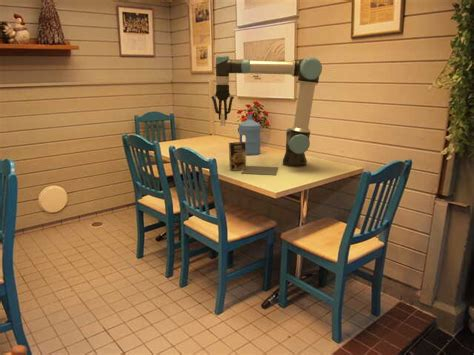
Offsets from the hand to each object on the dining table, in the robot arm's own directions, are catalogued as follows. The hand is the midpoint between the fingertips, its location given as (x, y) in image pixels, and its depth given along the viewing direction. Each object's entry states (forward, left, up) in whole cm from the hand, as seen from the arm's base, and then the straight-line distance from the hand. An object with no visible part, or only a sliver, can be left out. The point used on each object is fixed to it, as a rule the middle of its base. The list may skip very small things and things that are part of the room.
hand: (222, 125), depth 224 cm
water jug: (-9, -48, -27) cm, 56 cm away
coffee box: (-9, 0, -26) cm, 28 cm away
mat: (-22, 0, -26) cm, 35 cm away
